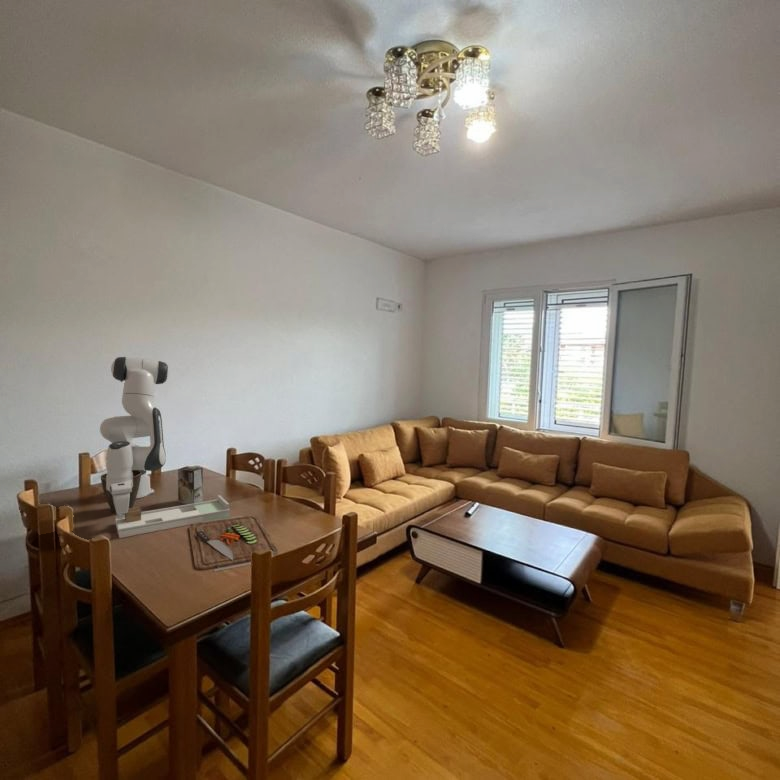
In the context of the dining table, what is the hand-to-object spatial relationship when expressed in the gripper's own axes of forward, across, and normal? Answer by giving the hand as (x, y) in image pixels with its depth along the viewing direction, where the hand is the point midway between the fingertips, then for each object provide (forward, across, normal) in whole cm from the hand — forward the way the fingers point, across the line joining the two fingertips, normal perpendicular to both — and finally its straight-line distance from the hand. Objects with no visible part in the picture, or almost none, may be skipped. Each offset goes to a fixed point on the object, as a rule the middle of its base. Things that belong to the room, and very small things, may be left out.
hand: (120, 517), depth 164 cm
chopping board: (+5, +34, +33) cm, 48 cm away
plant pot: (+4, -21, +2) cm, 22 cm away
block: (+1, 0, +4) cm, 5 cm away
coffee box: (+4, -18, +29) cm, 34 cm away
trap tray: (+4, +3, +19) cm, 19 cm away
